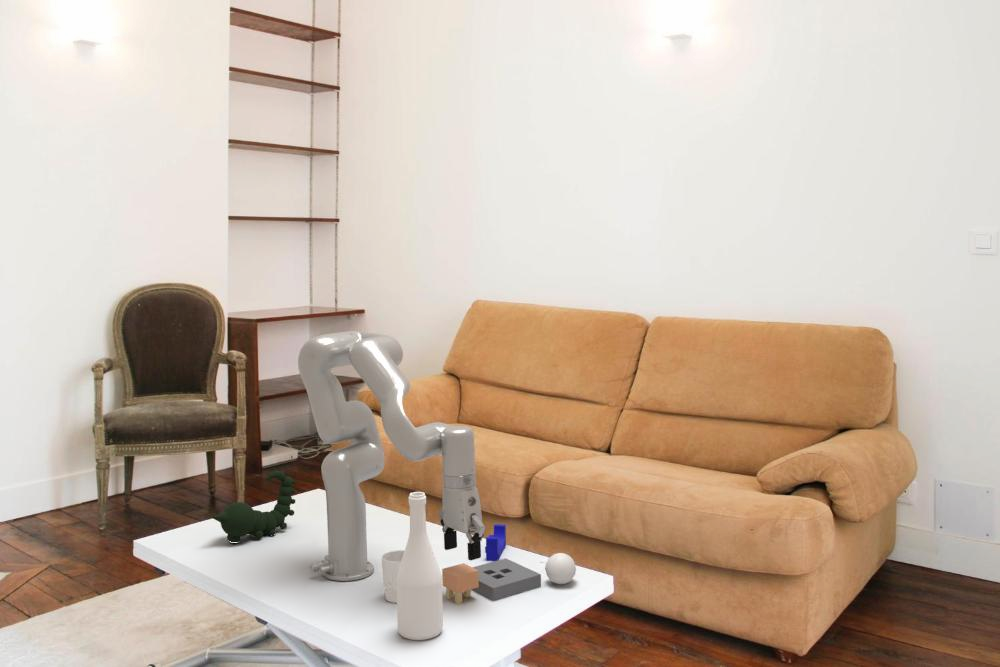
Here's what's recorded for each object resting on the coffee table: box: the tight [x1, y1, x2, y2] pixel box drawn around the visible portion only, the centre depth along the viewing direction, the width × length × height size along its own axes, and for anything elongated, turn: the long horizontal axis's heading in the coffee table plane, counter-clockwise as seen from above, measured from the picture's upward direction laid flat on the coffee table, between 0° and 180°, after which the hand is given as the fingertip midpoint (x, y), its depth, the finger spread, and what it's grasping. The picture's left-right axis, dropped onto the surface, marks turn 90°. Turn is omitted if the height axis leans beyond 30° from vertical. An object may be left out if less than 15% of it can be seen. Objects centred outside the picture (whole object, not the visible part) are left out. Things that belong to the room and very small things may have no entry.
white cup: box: [381, 549, 405, 604], centre depth 212 cm, size 8×8×10 cm
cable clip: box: [484, 524, 507, 562], centre depth 242 cm, size 12×4×6 cm, turn 169°
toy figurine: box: [211, 470, 296, 542], centre depth 256 cm, size 9×19×25 cm
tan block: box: [441, 563, 479, 604], centre depth 212 cm, size 6×6×7 cm
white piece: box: [540, 552, 577, 585], centre depth 221 cm, size 10×7×7 cm
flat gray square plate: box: [471, 558, 542, 601], centre depth 220 cm, size 14×14×3 cm
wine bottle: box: [396, 491, 444, 641], centre depth 193 cm, size 10×10×30 cm
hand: (462, 553), depth 211 cm, fingers open, 9 cm apart
